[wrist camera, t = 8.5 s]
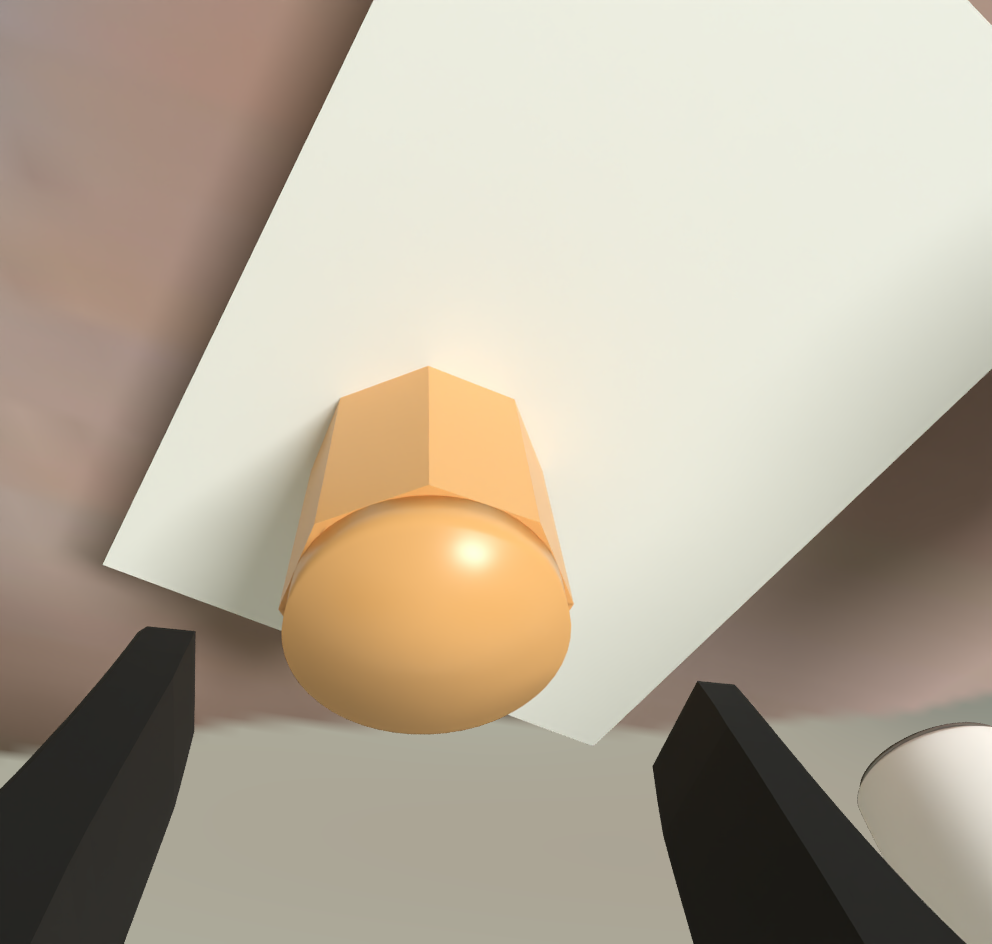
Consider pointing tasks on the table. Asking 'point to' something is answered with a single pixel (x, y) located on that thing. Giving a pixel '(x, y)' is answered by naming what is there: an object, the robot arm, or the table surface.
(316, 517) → the cap
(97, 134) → the table surface
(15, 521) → the table surface
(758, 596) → the table surface
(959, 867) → the can
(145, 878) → the robot arm
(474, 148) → the junction box
